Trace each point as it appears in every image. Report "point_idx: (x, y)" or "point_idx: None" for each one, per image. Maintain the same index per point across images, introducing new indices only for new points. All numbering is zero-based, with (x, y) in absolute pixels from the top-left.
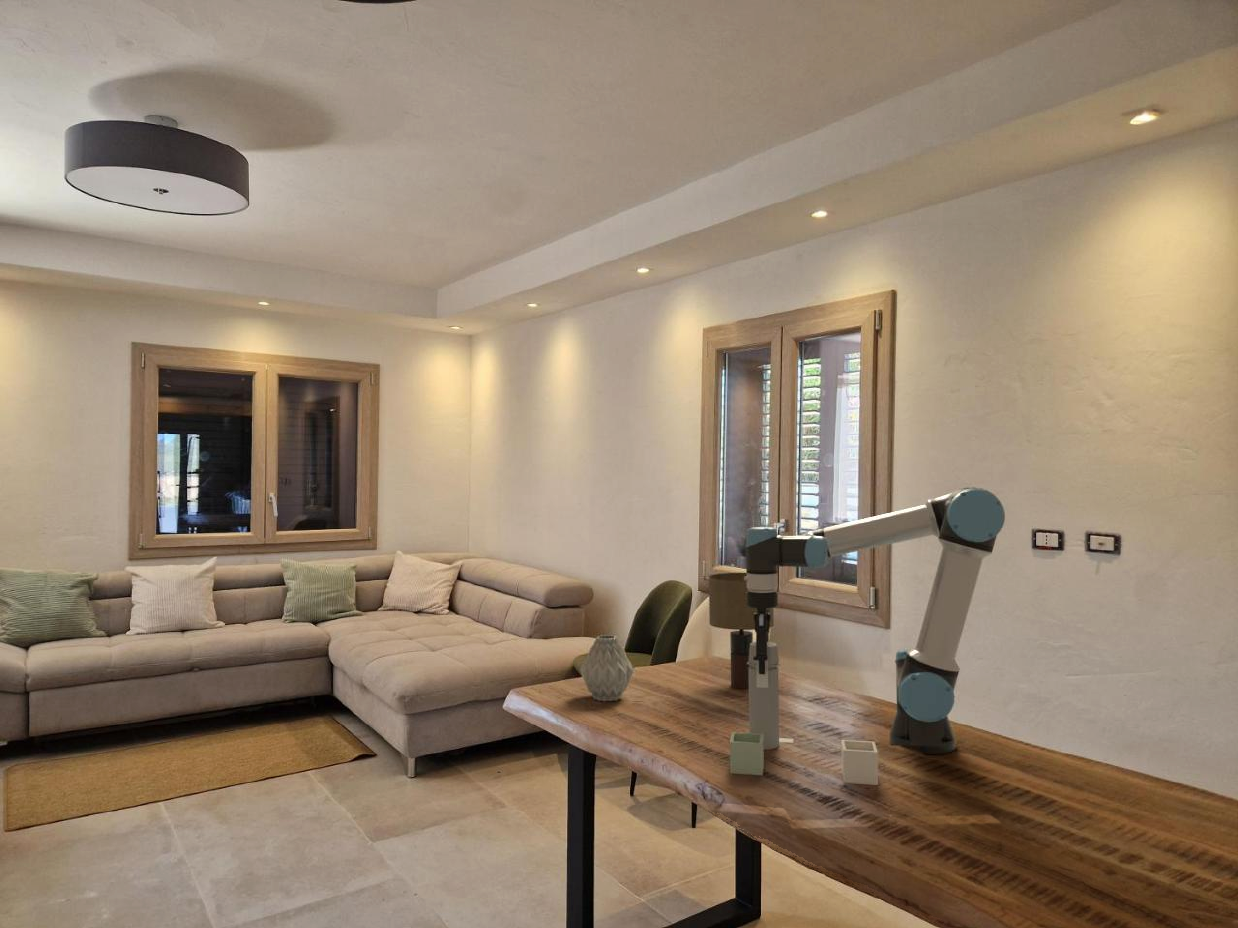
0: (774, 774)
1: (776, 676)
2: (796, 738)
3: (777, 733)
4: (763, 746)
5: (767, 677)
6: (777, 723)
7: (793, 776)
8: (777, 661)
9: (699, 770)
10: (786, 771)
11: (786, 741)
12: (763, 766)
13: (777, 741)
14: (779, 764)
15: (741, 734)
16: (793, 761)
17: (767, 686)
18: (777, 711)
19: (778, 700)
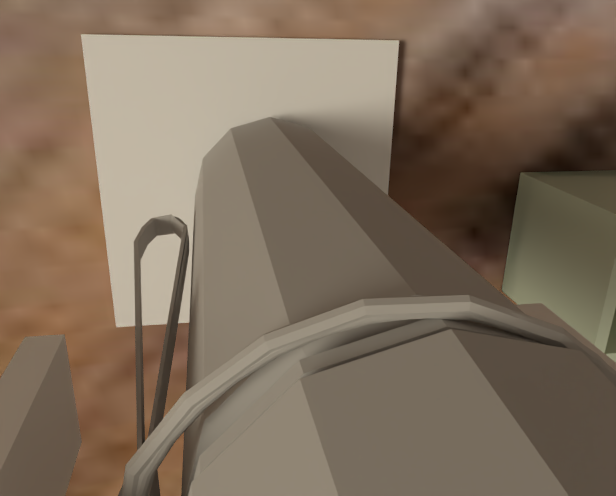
0: (573, 126)
1: (464, 267)
2: (29, 14)
3: (309, 135)
4: (595, 199)
5: (611, 363)
6: (319, 145)
7: (596, 43)
8: (555, 363)
9: None
10: (540, 74)
11: (141, 76)
12: (568, 177)
13: (303, 128)
14: (458, 107)
15: (607, 321)
16: (415, 39)
17: (546, 313)
18: (331, 161)
19: (317, 171)
